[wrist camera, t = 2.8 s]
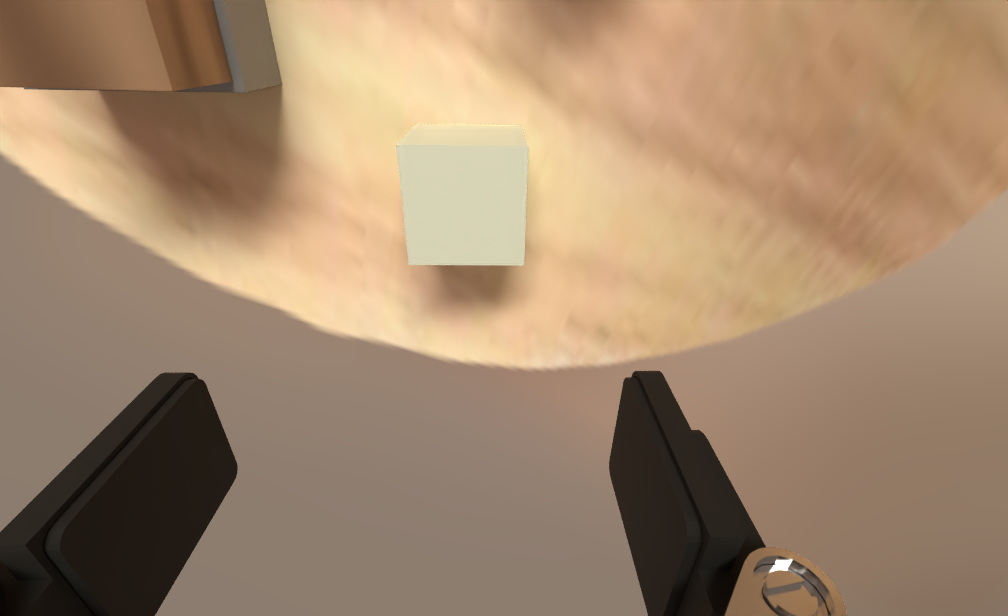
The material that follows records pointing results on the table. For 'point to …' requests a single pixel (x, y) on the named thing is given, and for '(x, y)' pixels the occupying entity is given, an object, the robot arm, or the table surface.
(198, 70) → the tower top block
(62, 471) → the robot arm
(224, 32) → the tower base block
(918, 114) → the table surface
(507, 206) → the cream cube
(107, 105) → the table surface
